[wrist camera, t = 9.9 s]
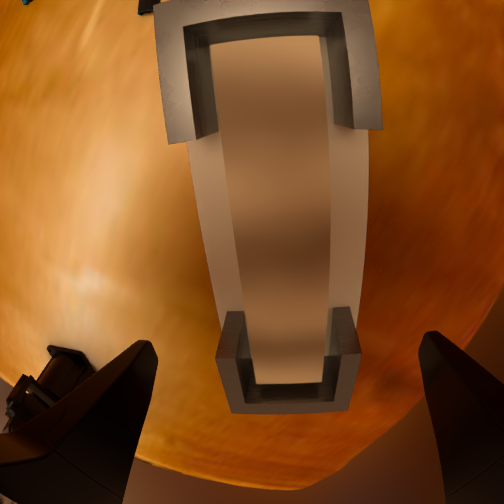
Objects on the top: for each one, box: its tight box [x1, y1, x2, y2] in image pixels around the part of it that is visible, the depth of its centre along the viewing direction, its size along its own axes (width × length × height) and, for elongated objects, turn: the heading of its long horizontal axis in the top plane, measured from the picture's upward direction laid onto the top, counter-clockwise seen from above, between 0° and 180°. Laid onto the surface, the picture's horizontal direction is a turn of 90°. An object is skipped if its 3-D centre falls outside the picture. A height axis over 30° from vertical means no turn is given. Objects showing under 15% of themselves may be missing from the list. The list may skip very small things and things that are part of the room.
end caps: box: [153, 0, 383, 414], centre depth 15 cm, size 25×9×4 cm, turn 6°
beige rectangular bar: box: [210, 36, 331, 384], centre depth 16 cm, size 20×4×4 cm, turn 6°
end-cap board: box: [187, 37, 369, 358], centre depth 18 cm, size 26×10×2 cm, turn 6°
